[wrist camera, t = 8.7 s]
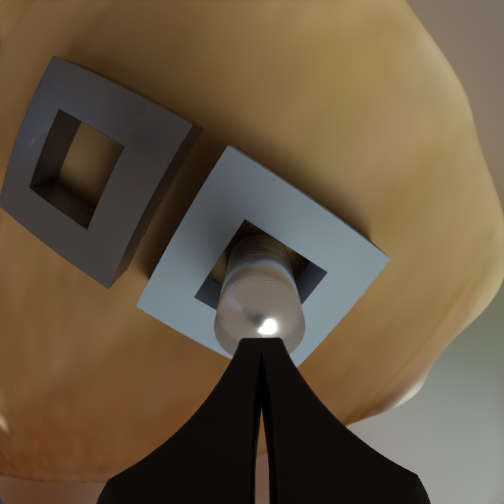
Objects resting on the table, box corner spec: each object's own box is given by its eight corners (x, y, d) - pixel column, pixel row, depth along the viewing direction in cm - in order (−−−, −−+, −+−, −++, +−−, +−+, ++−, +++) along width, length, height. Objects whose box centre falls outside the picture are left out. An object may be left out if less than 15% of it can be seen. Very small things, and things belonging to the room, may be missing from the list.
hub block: (151, 283, 19) (136, 306, 16) (233, 145, 16) (228, 145, 13) (278, 354, 20) (281, 382, 18) (371, 241, 17) (390, 258, 15)
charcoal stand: (24, 195, 17) (-2, 204, 14) (79, 64, 14) (53, 55, 11) (127, 268, 18) (108, 288, 16) (203, 128, 15) (192, 124, 13)
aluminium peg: (216, 260, 18) (195, 325, 11) (261, 221, 17) (264, 269, 11) (256, 300, 19) (255, 375, 12) (300, 265, 18) (323, 331, 12)
